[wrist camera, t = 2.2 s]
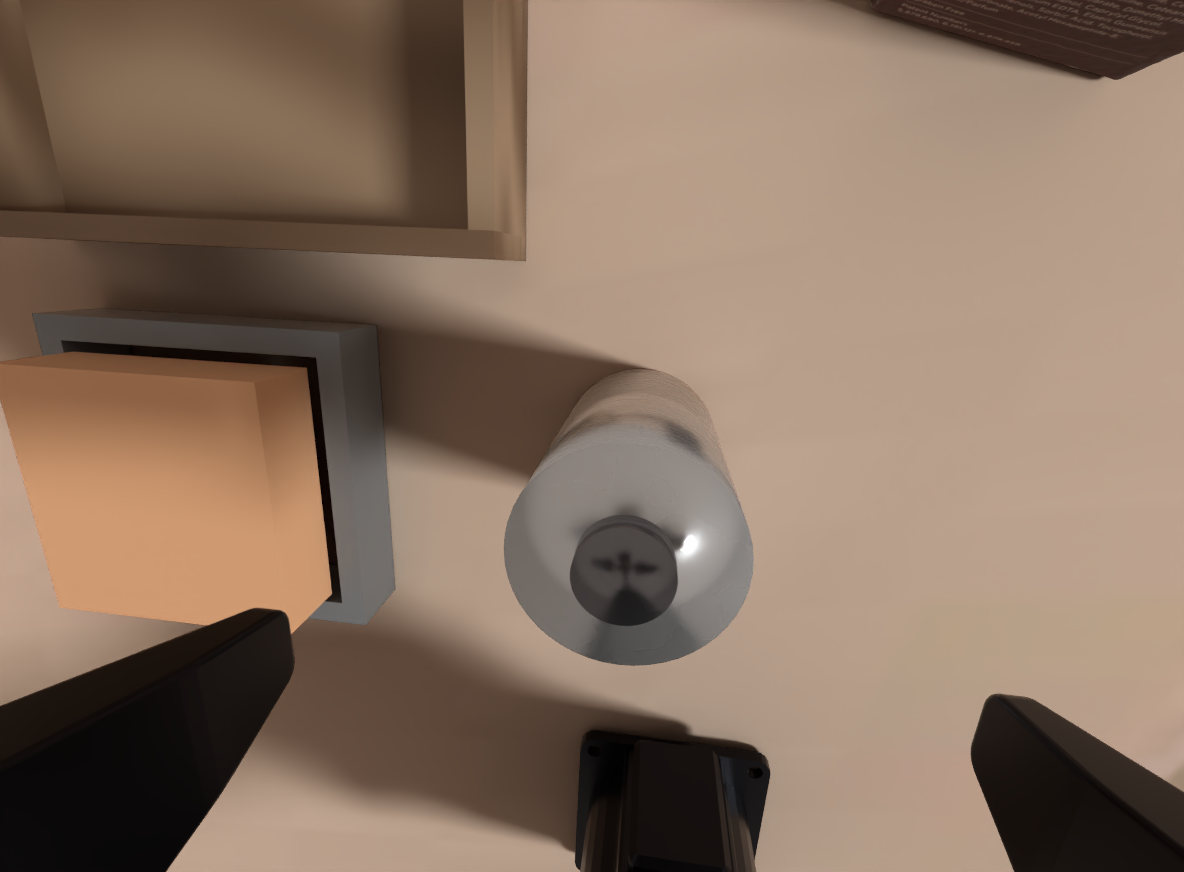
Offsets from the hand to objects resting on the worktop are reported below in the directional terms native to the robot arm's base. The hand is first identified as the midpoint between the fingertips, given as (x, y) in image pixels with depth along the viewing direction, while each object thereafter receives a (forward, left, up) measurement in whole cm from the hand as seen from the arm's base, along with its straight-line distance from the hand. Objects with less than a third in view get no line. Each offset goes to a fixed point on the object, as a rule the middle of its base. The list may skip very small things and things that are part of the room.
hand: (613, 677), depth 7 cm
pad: (-1, +13, -8) cm, 15 cm away
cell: (0, 0, -10) cm, 10 cm away
